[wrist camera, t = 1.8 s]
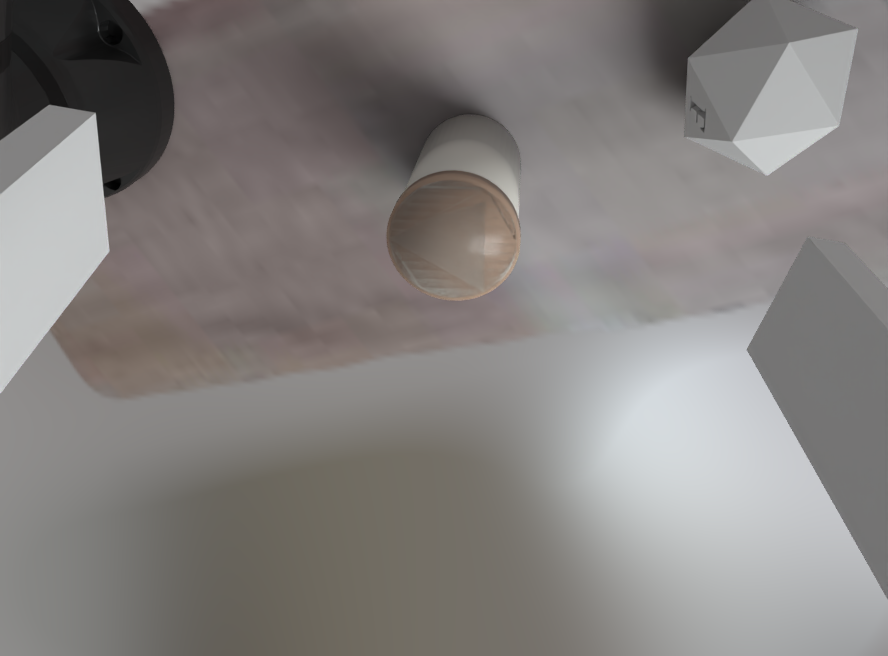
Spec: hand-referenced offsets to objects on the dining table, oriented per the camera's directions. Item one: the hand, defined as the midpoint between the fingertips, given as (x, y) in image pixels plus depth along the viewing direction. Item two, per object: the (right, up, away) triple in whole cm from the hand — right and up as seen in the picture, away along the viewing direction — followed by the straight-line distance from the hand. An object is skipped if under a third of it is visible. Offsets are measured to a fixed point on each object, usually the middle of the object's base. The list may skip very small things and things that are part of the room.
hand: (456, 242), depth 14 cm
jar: (+1, +9, +33) cm, 34 cm away
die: (+17, +13, +29) cm, 36 cm away
